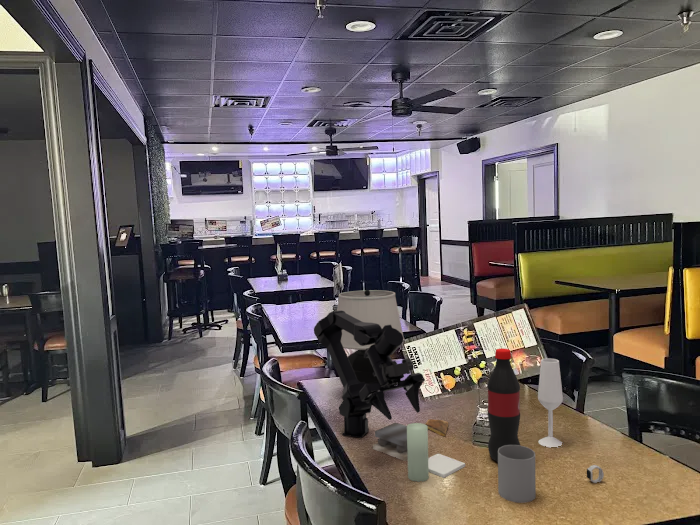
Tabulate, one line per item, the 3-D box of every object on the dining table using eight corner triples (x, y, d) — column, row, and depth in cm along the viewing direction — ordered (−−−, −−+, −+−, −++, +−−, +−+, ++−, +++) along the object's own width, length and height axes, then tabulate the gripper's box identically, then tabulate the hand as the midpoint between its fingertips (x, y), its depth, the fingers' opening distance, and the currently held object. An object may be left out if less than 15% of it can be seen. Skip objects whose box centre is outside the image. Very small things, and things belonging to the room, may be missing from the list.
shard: (445, 439, 160) (445, 433, 160) (420, 436, 162) (419, 431, 162) (449, 425, 170) (449, 420, 170) (425, 424, 173) (425, 418, 172)
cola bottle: (521, 454, 147) (520, 346, 145) (520, 467, 139) (519, 353, 137) (489, 450, 150) (487, 344, 148) (486, 463, 142) (485, 352, 140)
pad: (416, 466, 141) (416, 463, 141) (438, 456, 147) (438, 453, 147) (443, 477, 134) (443, 474, 134) (465, 466, 140) (465, 463, 140)
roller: (405, 479, 134) (404, 429, 133) (411, 470, 139) (410, 421, 138) (425, 483, 132) (424, 431, 131) (430, 473, 137) (429, 424, 136)
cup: (493, 486, 130) (492, 445, 129) (526, 483, 130) (526, 443, 130) (506, 504, 121) (506, 461, 120) (541, 501, 122) (541, 458, 121)
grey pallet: (372, 448, 153) (372, 431, 153) (395, 438, 160) (395, 421, 160) (405, 461, 145) (404, 442, 144) (427, 449, 152) (427, 431, 151)
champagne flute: (566, 442, 154) (566, 359, 152) (557, 449, 149) (557, 364, 147) (544, 436, 158) (543, 356, 157) (534, 443, 153) (533, 361, 152)
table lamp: (319, 396, 203) (315, 291, 200) (370, 380, 221) (367, 284, 218) (369, 412, 183) (366, 296, 180) (420, 394, 201) (418, 288, 199)
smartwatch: (600, 479, 131) (600, 463, 131) (605, 483, 129) (605, 467, 129) (586, 480, 131) (586, 464, 131) (591, 484, 129) (590, 468, 129)
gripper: (365, 354, 140) (388, 409, 132) (421, 344, 150) (446, 395, 142) (349, 374, 148) (370, 427, 140) (404, 364, 157) (427, 413, 149)
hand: (404, 415), depth 143 cm, fingers open, 9 cm apart
